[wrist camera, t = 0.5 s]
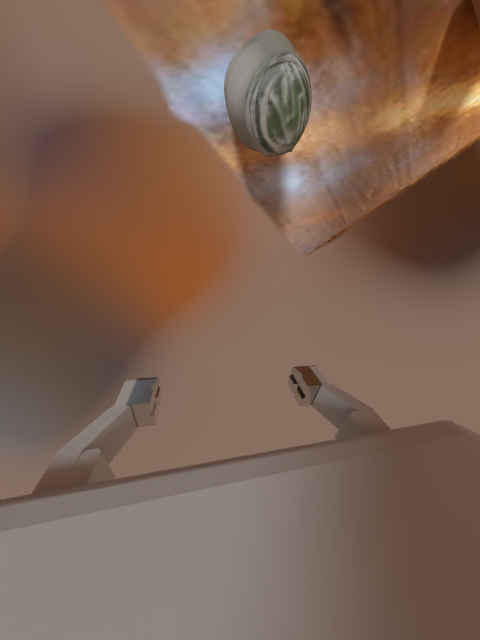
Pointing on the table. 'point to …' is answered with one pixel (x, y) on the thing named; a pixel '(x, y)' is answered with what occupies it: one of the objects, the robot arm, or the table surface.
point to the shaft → (477, 9)
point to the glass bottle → (268, 94)
